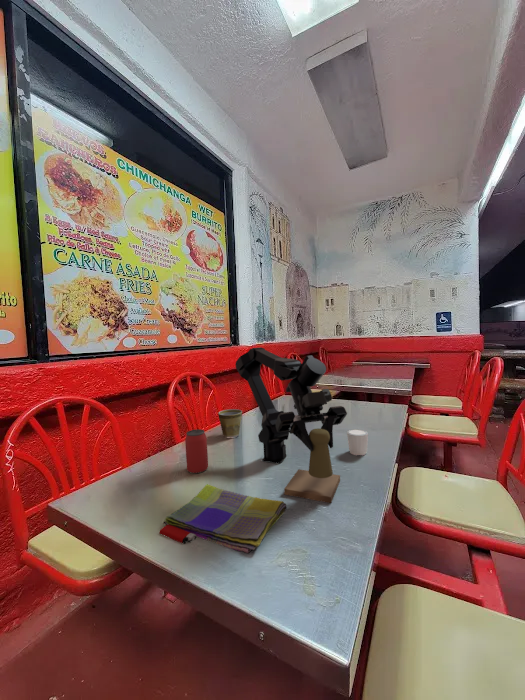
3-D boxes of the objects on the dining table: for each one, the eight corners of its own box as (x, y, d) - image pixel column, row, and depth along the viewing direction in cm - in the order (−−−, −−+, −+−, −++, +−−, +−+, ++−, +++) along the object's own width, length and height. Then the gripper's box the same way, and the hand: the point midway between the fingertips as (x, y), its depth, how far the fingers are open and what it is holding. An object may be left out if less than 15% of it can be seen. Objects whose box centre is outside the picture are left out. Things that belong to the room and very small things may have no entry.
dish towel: (209, 490, 83) (208, 480, 83) (291, 510, 71) (291, 498, 71) (160, 527, 67) (159, 514, 67) (255, 560, 56) (255, 545, 56)
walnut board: (284, 494, 78) (284, 488, 77) (298, 474, 88) (298, 469, 88) (331, 503, 73) (330, 497, 72) (340, 480, 83) (340, 475, 83)
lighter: (169, 522, 67) (196, 533, 63) (169, 528, 67) (197, 539, 63) (159, 530, 64) (186, 541, 60) (159, 535, 64) (187, 547, 60)
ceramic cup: (242, 439, 121) (241, 414, 121) (217, 440, 122) (216, 415, 121) (244, 429, 134) (243, 407, 134) (222, 430, 134) (221, 408, 134)
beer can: (212, 468, 95) (210, 431, 95) (194, 476, 90) (192, 436, 90) (200, 463, 100) (198, 427, 99) (182, 470, 95) (180, 432, 94)
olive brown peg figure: (333, 478, 73) (331, 434, 72) (307, 477, 74) (306, 433, 73) (332, 467, 79) (331, 426, 78) (309, 466, 80) (307, 425, 79)
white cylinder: (346, 455, 101) (345, 434, 100) (348, 447, 107) (348, 428, 107) (368, 457, 98) (367, 436, 98) (369, 449, 104) (368, 429, 104)
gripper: (276, 382, 76) (294, 438, 66) (342, 376, 81) (368, 428, 71) (269, 406, 84) (284, 459, 74) (329, 399, 89) (350, 449, 79)
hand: (322, 448), depth 75 cm, fingers closed on olive brown peg figure, 5 cm apart
